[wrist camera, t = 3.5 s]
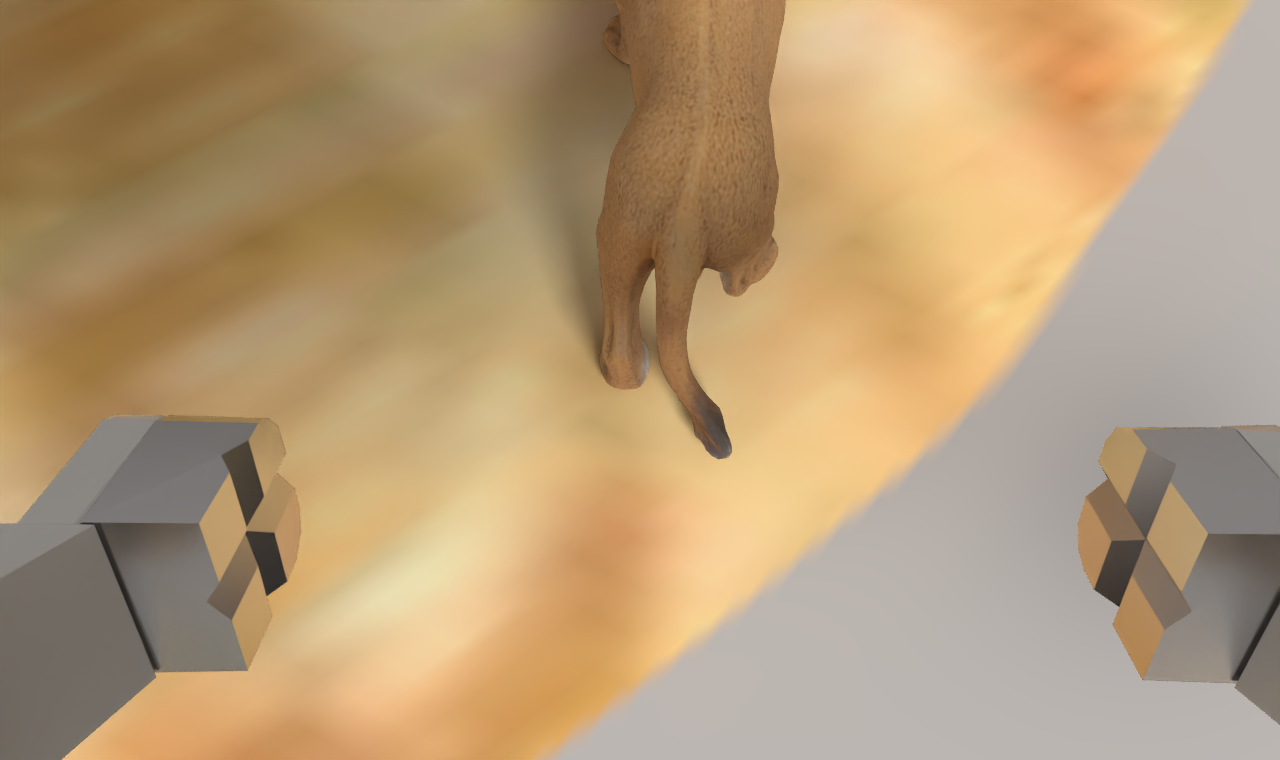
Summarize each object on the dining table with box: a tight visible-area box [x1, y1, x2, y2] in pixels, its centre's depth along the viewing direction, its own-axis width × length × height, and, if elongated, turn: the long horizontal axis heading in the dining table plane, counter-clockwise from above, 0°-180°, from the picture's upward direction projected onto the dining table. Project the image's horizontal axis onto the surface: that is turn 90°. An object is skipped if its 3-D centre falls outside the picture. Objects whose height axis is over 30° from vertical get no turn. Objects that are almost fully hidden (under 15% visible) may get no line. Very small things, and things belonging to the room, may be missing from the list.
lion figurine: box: [596, 0, 785, 459], centre depth 18 cm, size 15×5×9 cm, turn 8°
